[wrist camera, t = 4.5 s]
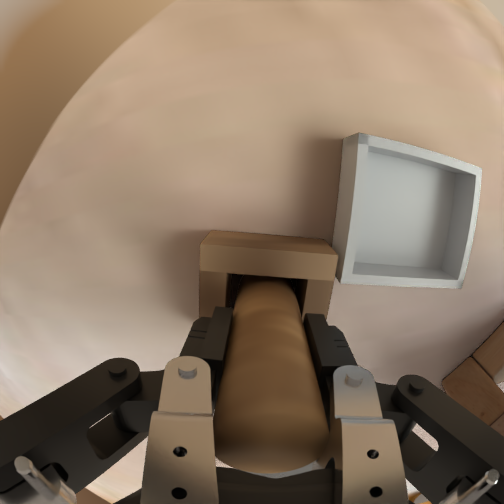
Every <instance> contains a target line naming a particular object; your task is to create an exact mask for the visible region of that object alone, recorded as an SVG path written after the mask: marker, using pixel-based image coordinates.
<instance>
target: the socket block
mask: <svg viewBox="0 0 504 504" xmlns="http://www.w3.org/2000/svg"><path fill="white" fill-rule="evenodd" d="M337 261H338V254H337V253H336V252H335V251H334V250H333V249H332V248H331V247H330V246H329V244H328V243H327V242H326V241H325V240H324V239H314V238H303V237H291V236H280V235H268V234H255V233H243V232H230V231H216V230H211V232H210V233H209V234H208V235H207V236H206V238H205V239H204V240H203V241H202V242H201V244H200V271H199V318H200V317H211V318H212V315H213V312H214V309H215V306H219V307H230V296H231V277H232V273H234V274H246V275H259V276H272V277H285V278H297V281H296V288H295V294H296V298H297V302H298V306H299V309H300V313H301V317H302V321H303V320H304V316H305V313H314V314H324V316H325V319H327V314H328V309H329V304H330V299H331V294H332V289H333V284H334V278H335V272H336V267H337Z"/></svg>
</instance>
